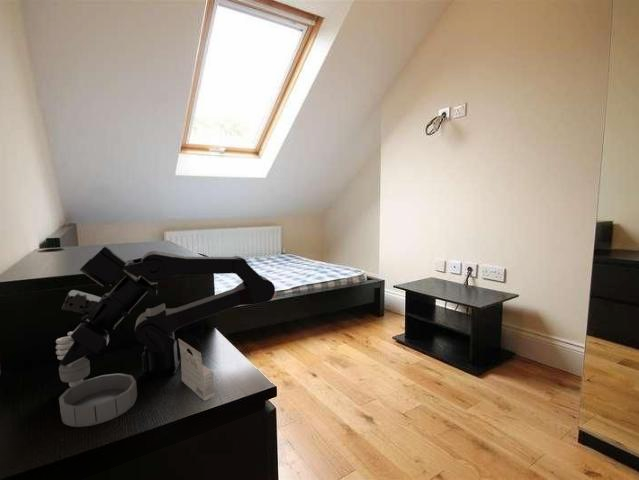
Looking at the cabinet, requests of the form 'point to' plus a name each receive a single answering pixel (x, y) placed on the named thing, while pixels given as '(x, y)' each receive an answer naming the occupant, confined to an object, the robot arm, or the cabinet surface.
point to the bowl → (97, 400)
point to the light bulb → (75, 369)
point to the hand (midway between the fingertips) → (65, 358)
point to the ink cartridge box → (196, 372)
